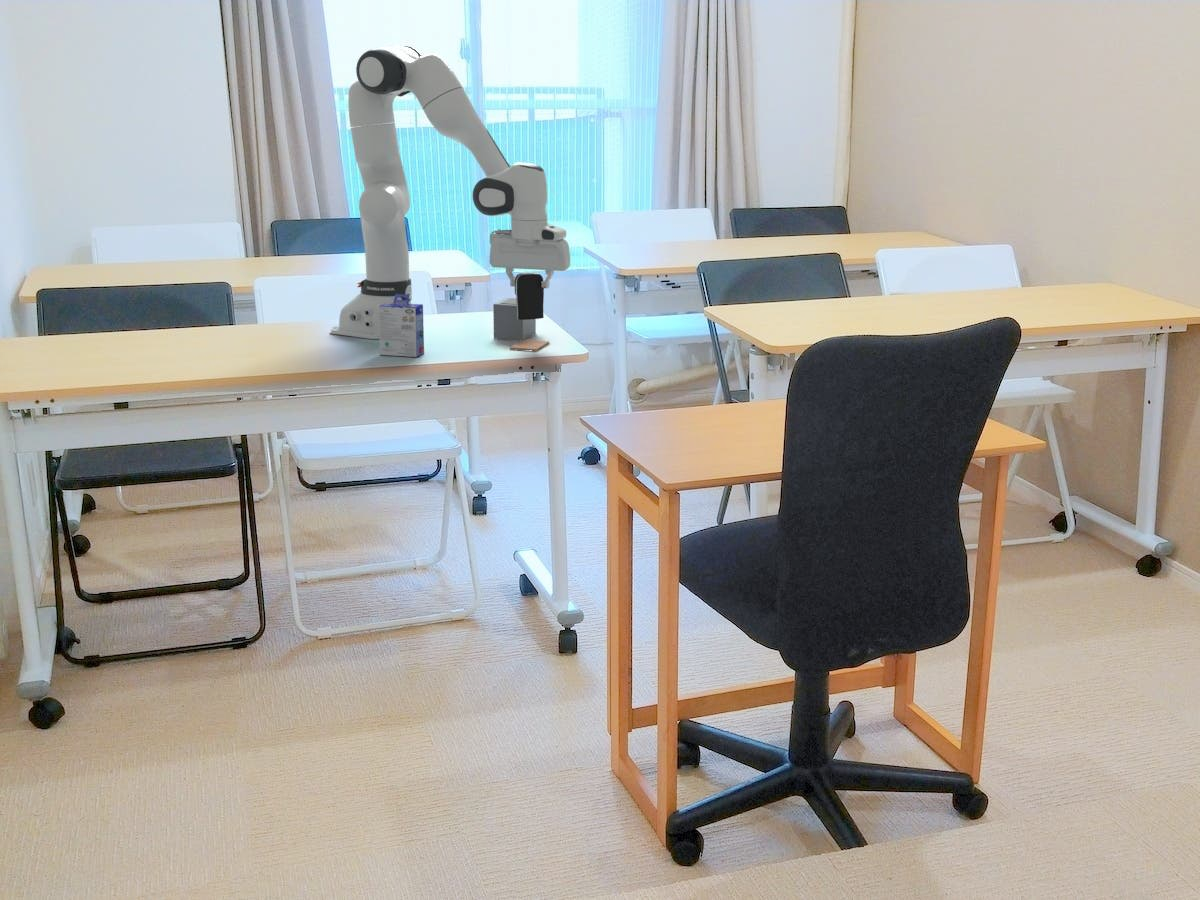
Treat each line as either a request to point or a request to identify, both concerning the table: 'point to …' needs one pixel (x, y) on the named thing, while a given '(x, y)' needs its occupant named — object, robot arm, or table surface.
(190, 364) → the table surface
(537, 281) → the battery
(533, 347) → the mat
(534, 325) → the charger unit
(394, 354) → the ink cartridge box
